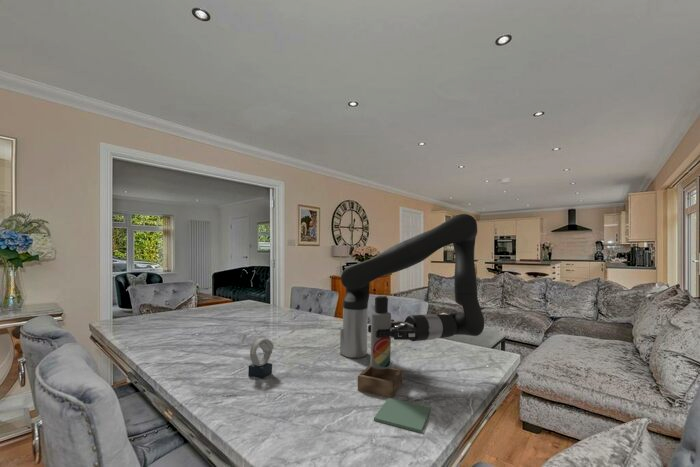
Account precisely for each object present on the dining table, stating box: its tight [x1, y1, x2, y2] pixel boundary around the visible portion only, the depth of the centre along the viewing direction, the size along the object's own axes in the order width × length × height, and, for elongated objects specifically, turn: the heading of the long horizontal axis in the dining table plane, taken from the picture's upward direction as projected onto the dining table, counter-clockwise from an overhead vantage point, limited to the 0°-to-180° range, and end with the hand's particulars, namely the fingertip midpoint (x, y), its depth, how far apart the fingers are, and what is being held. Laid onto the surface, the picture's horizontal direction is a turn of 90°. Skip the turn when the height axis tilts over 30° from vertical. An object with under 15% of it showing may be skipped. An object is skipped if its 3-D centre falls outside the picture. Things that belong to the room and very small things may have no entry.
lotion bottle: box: [370, 295, 392, 369], centre depth 92 cm, size 6×6×20 cm
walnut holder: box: [357, 363, 403, 399], centre depth 91 cm, size 10×10×4 cm
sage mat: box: [373, 397, 432, 434], centre depth 76 cm, size 11×11×1 cm
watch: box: [247, 337, 275, 380], centre depth 99 cm, size 6×8×11 cm
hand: (372, 331), depth 91 cm, fingers closed on lotion bottle, 4 cm apart
